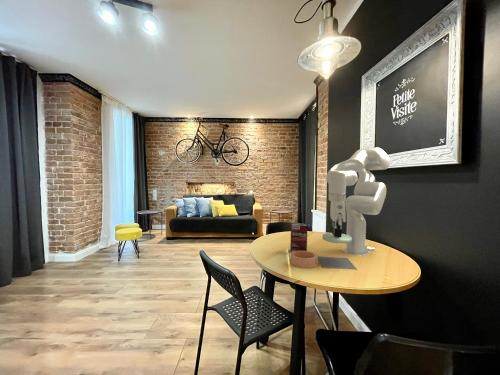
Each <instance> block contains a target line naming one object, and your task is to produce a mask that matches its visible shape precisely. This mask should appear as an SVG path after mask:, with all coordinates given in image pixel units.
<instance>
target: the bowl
mask: <svg viewBox="0 0 500 375" xmlns="http://www.w3.org/2000/svg"><path fill="white" fill-rule="evenodd" d="M318 263H319V260H318V254H317V253H315V252H314V251H309V250H307V251H293V252H291V251H290V264H291V265H292V266H295V267H298V268H301V269H313V268H315V267H317V266H318Z"/></svg>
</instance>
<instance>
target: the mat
mask: <svg viewBox="0 0 500 375" xmlns="http://www.w3.org/2000/svg"><path fill="white" fill-rule="evenodd" d="M317 256H318V255H317ZM318 263H319V264H320V266H321V268H322V269H336V270H337V269H339V270H341V269H342V270H356V271H357V270H358V268H356V266H355V265H354V263H352V262H351V260H350V259H349V258H348V257H339V256H337V257H335V256H318Z"/></svg>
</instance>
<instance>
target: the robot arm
mask: <svg viewBox="0 0 500 375" xmlns="http://www.w3.org/2000/svg"><path fill="white" fill-rule="evenodd" d="M390 165H391V159H390V156H389V155H388V154H387V152H385V151H384V150H383V149H382V148H380V147H367V148H360V149H358V150H356V151H355V153H353V154H352V156H351V157H349V159H347V160H344V161H341V162H339V163H337V164H335V165H333V166H332V167H331V168H330V169H329V170H328V172H327V174H326V178H325V179H326V183H327V184H328V201H330V210H329V211H330V212H329V213H330V220H332V230H331V233H332V234H333V235H334V237H342V234H343V231H342V230H343V228H342V226H343V224H342V223H346V235H349V236H351V237H352V241H351V242H349V243H345V246H346V247H345V248H343V250H342V251H343V252H344V253H346V254H349V255H353V256H368V255H369V252H375V251H376V248H375V247H371V246H367V245H366V239H367V238H366V237H367V236H366V234H367V221H366V219H365V217H364V215H369V216H370V215H372V216H376V215H379V214H380V213H381V212H382V211H381V210H382V209H383V205H384V203H385V199H386V196H387V186H386V184H385V183H384V182H381V181H376V177H375V176H374V174H373V173H372V172H371V171H378V170H379V171H383V170H387V169H388V168H389V167H390ZM357 173H358V174H357ZM354 185H355V187H354V190H353V194H354V195H350V196H348V197H347V186H348V187H350V186H354ZM334 226H335V228H334Z"/></svg>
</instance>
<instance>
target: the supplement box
mask: <svg viewBox="0 0 500 375" xmlns="http://www.w3.org/2000/svg"><path fill="white" fill-rule="evenodd" d="M289 245H290V248H289V249H290V253H291V252H293V251H308V224H307V223H290V244H289Z"/></svg>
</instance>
